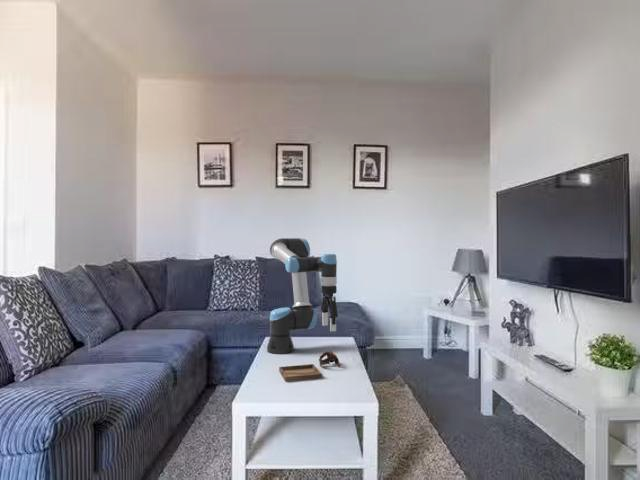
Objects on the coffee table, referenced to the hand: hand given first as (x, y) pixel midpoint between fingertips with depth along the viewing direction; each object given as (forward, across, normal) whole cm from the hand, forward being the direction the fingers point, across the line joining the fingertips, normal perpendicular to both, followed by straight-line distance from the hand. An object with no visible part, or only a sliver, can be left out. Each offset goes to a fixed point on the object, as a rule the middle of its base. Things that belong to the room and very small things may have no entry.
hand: (329, 328), depth 205 cm
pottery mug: (+19, 0, 0) cm, 19 cm away
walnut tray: (+18, +10, -17) cm, 27 cm away
